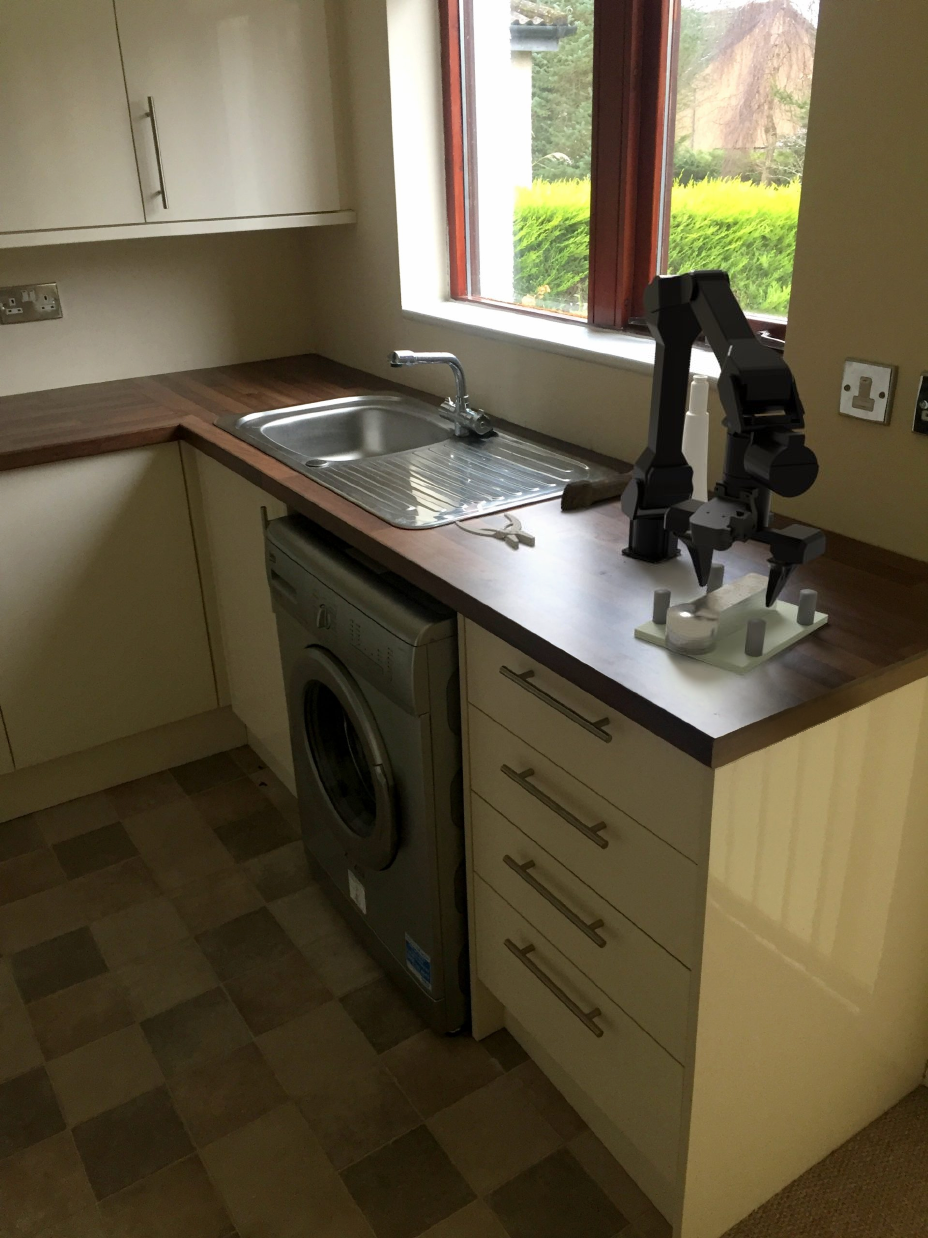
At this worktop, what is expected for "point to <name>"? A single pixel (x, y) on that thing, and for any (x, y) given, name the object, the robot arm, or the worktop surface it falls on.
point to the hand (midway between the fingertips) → (735, 596)
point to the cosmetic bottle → (697, 436)
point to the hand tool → (593, 491)
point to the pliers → (504, 532)
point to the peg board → (749, 641)
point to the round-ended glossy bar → (716, 615)
